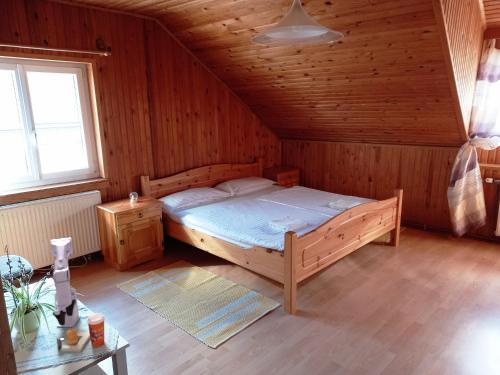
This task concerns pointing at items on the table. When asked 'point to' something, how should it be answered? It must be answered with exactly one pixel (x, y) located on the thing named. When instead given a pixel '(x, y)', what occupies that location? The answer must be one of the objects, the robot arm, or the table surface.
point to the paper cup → (96, 329)
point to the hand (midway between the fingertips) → (66, 320)
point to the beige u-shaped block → (82, 342)
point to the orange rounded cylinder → (72, 337)
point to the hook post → (59, 343)
